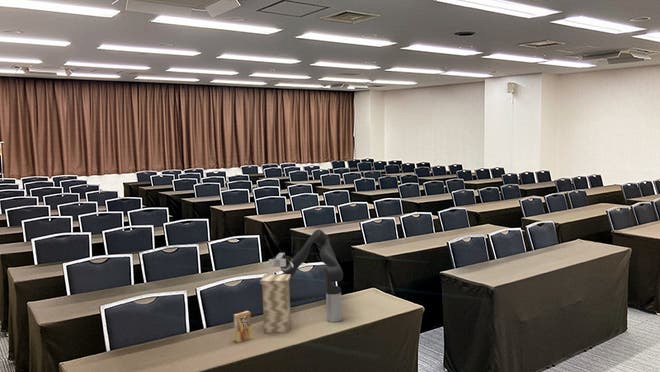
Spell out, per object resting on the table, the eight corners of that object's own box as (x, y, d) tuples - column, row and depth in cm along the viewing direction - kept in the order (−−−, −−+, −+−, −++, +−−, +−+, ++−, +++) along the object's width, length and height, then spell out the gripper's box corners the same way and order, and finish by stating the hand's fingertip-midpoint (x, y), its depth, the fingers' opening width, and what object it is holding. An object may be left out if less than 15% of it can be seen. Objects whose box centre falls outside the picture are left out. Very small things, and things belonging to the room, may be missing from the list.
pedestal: (293, 324, 307) (290, 274, 304) (289, 332, 293) (287, 280, 291) (267, 324, 308) (264, 274, 306) (262, 333, 294) (259, 280, 292)
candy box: (248, 336, 290) (247, 310, 288) (252, 338, 286) (250, 312, 285) (234, 340, 284) (233, 314, 283) (238, 342, 281) (237, 316, 280)
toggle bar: (274, 259, 325) (274, 253, 324) (289, 258, 324) (289, 252, 324) (268, 266, 305) (268, 260, 305) (285, 266, 304) (285, 260, 304)
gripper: (274, 258, 335) (269, 250, 320) (295, 257, 334) (291, 249, 319) (273, 269, 332) (269, 262, 317) (295, 268, 331) (291, 261, 316)
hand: (280, 256), depth 318 cm, fingers closed on toggle bar, 3 cm apart
